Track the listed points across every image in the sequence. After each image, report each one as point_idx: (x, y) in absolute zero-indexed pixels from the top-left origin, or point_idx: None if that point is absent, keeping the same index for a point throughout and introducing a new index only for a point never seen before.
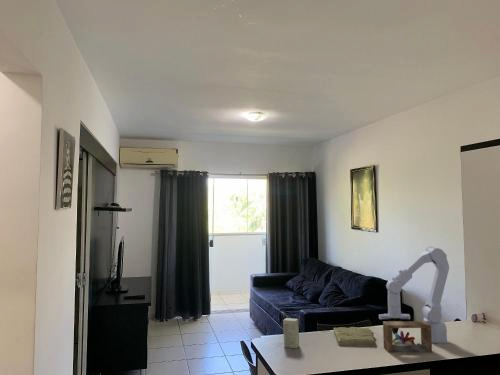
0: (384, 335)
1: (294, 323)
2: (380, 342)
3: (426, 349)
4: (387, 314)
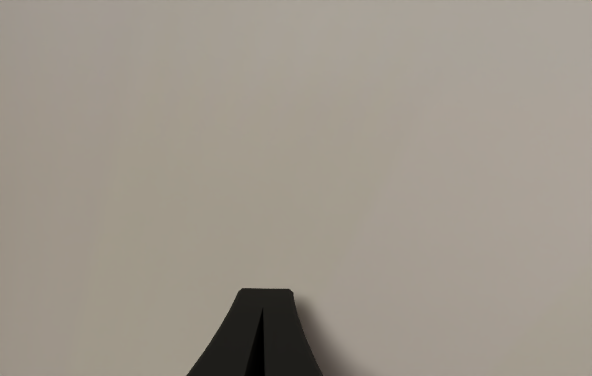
0: None
1: None
2: (28, 359)
3: None
4: None
